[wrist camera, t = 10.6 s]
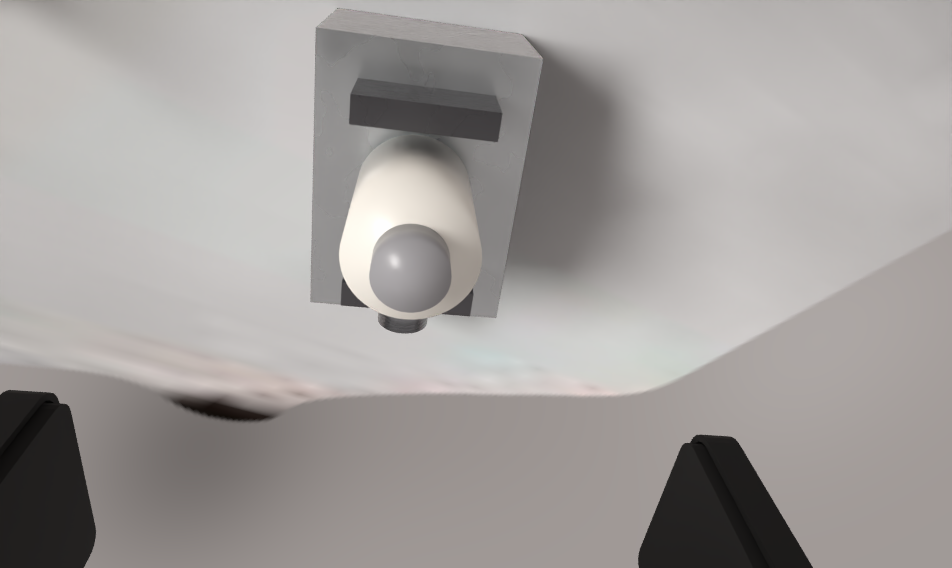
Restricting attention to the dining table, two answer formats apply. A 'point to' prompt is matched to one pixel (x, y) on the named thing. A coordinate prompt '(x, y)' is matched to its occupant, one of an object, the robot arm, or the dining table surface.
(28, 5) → the dining table surface
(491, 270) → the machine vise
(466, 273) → the bottle
